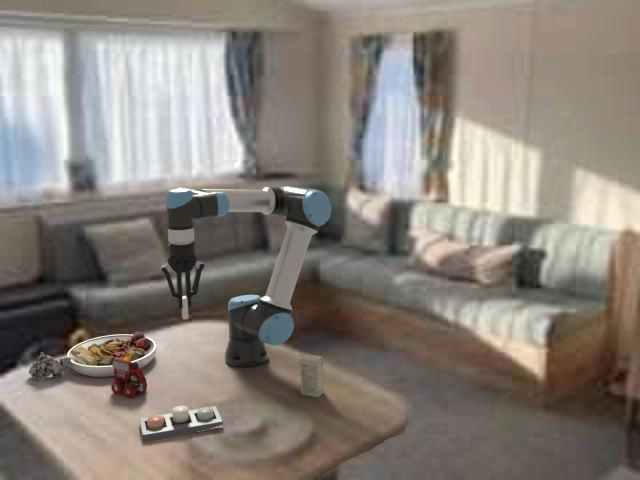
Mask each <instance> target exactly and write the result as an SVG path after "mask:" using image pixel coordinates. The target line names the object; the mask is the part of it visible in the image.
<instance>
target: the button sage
mask: <svg viewBox="0 0 640 480" xmlns="http://www.w3.org/2000/svg"><path fill="white" fill-rule="evenodd" d="M210 407H211V406H209V407H208V406H204V407H200V408H197V409H198V410H197V419H196V420H197V422H200V421H206V420H212V419H214V416H213V409H212V408H210Z"/></svg>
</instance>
